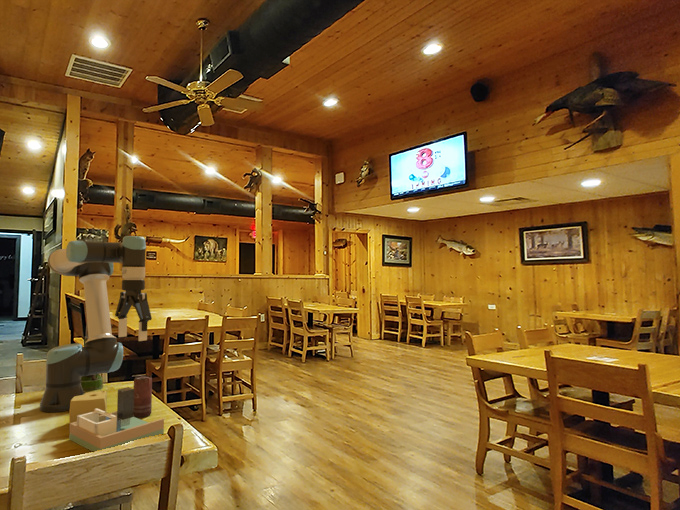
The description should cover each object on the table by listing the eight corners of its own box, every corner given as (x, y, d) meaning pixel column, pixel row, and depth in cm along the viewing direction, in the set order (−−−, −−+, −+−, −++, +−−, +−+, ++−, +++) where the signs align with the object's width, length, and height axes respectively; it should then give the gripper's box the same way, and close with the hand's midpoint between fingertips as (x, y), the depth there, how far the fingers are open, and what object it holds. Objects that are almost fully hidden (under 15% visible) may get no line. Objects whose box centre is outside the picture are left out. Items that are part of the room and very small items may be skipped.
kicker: (105, 428, 141) (106, 390, 142) (124, 423, 146) (125, 386, 147) (116, 433, 137) (117, 394, 138) (136, 427, 142) (136, 389, 143)
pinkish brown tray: (69, 439, 139) (69, 423, 139) (131, 421, 155) (131, 407, 155) (100, 455, 127) (100, 438, 127) (163, 434, 143) (163, 419, 143)
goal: (76, 435, 137) (77, 413, 137) (96, 429, 142) (97, 408, 142) (95, 445, 130) (96, 421, 130) (116, 438, 135) (116, 416, 135)
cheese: (73, 421, 155) (74, 392, 155) (108, 417, 159) (108, 389, 159) (68, 431, 145) (69, 401, 145) (105, 427, 149) (105, 397, 150)
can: (145, 418, 158) (145, 379, 158) (129, 417, 159) (130, 378, 160) (155, 413, 164) (156, 375, 164) (140, 412, 165) (141, 374, 165)
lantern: (109, 388, 197) (111, 320, 197) (84, 393, 188) (86, 323, 189) (94, 383, 205) (95, 318, 205) (69, 388, 196) (71, 320, 197)
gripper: (105, 278, 163) (104, 336, 162) (142, 280, 148) (141, 343, 147) (125, 278, 169) (124, 333, 168) (162, 279, 154) (161, 340, 153)
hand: (132, 338), depth 158 cm, fingers open, 13 cm apart
